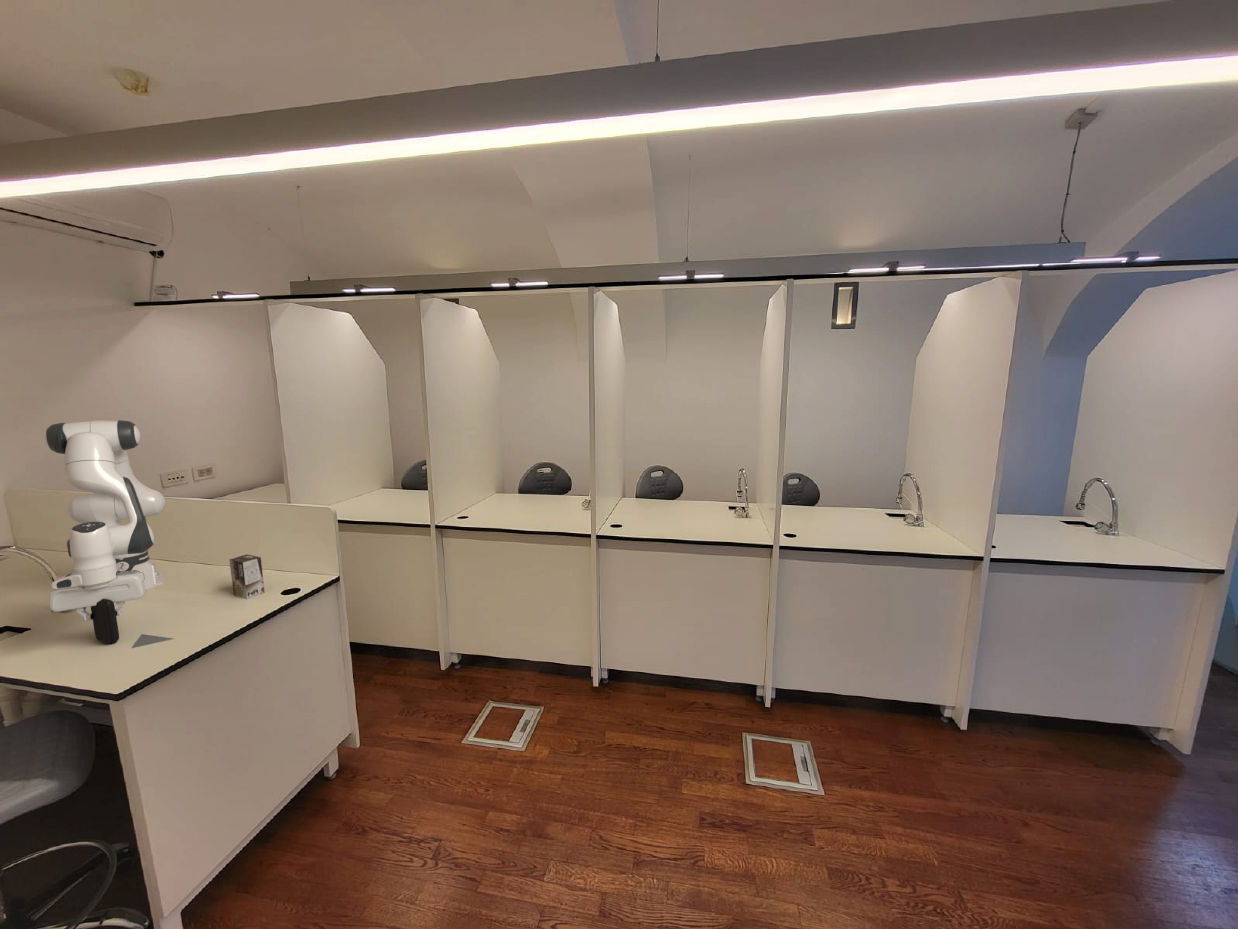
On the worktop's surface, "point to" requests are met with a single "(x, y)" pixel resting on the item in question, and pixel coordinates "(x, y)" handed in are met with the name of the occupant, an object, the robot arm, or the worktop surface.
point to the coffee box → (247, 576)
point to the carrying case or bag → (105, 621)
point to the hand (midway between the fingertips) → (103, 617)
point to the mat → (149, 640)
